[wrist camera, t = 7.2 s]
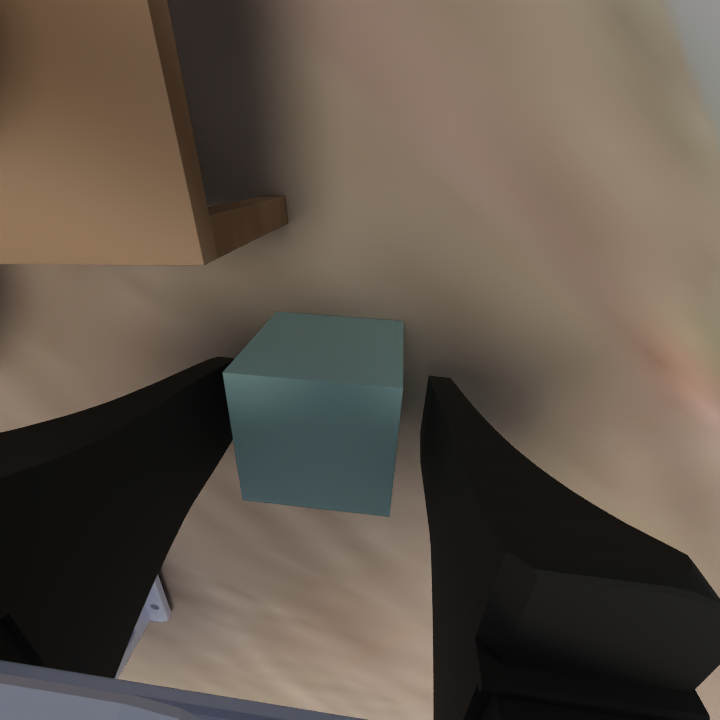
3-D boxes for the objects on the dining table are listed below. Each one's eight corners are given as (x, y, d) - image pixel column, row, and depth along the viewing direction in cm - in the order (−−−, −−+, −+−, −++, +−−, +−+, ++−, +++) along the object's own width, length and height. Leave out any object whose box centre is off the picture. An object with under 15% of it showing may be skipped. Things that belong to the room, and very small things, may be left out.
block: (393, 424, 13) (389, 516, 10) (284, 413, 14) (242, 499, 10) (403, 319, 11) (403, 388, 8) (277, 310, 12) (222, 372, 8)
